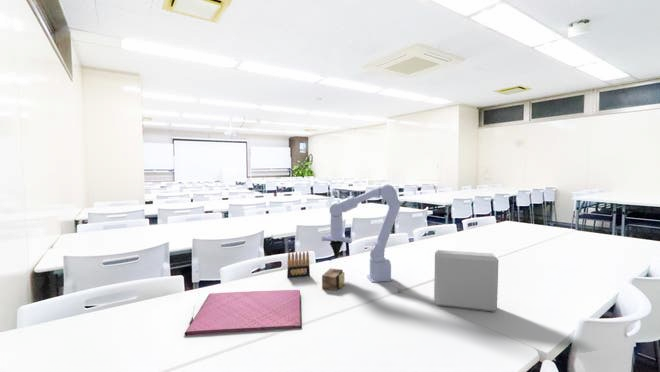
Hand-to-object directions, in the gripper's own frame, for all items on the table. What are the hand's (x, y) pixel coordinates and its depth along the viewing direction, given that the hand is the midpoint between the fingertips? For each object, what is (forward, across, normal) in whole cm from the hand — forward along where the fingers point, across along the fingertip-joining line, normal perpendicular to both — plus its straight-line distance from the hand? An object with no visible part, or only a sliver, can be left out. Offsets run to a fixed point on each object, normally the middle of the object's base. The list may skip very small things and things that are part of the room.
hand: (336, 256), depth 144 cm
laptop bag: (+10, -19, -45) cm, 50 cm away
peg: (+9, +2, -12) cm, 15 cm away
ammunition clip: (+10, -17, -6) cm, 21 cm away
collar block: (+9, +2, -12) cm, 15 cm away
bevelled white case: (+10, +55, -13) cm, 57 cm away
